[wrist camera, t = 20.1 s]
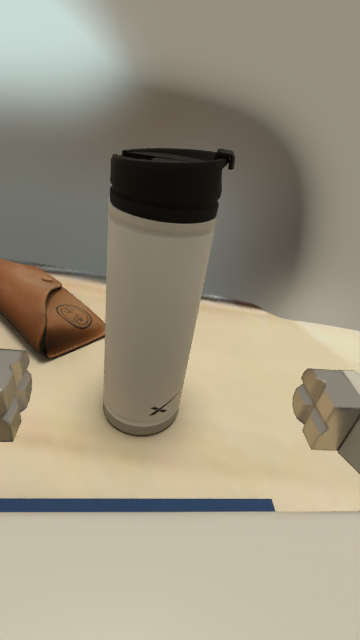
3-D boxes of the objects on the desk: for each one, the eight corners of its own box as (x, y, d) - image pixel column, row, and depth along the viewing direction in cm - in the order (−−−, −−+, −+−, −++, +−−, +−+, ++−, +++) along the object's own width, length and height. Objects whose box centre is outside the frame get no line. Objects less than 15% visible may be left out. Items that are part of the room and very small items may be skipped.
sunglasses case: (116, 328, 36) (89, 289, 31) (67, 377, 34) (28, 345, 29) (33, 265, 46) (1, 227, 40) (-9, 300, 44) (-49, 265, 38)
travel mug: (176, 445, 26) (237, 161, 15) (91, 427, 26) (92, 135, 15) (185, 388, 31) (236, 147, 20) (115, 373, 31) (128, 128, 20)
